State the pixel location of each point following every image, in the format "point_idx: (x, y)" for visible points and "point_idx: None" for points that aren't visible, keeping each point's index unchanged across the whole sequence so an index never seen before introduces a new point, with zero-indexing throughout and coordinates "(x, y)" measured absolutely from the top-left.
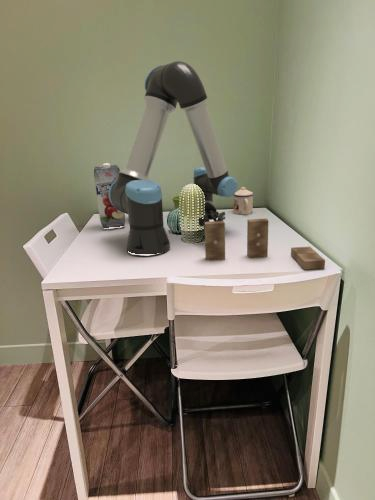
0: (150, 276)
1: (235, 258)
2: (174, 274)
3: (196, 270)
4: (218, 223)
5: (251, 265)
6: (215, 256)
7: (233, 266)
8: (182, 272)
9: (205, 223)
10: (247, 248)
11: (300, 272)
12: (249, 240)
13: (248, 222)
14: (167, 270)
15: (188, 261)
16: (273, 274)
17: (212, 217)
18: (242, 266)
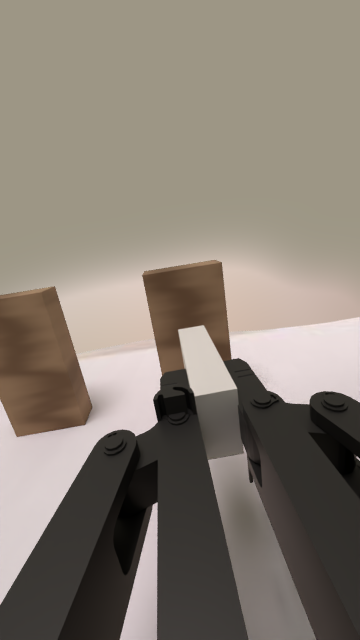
0: (333, 323)
1: (134, 402)
2: (284, 332)
3: (241, 346)
4: (167, 268)
5: (108, 374)
6: None
7: (153, 367)
8: (271, 338)
9: (214, 260)
10: (78, 397)
11: None
12: (73, 352)
13: (52, 294)
14: (314, 339)
15: (285, 374)
16: (87, 354)
17: (208, 500)
18: (132, 369)
